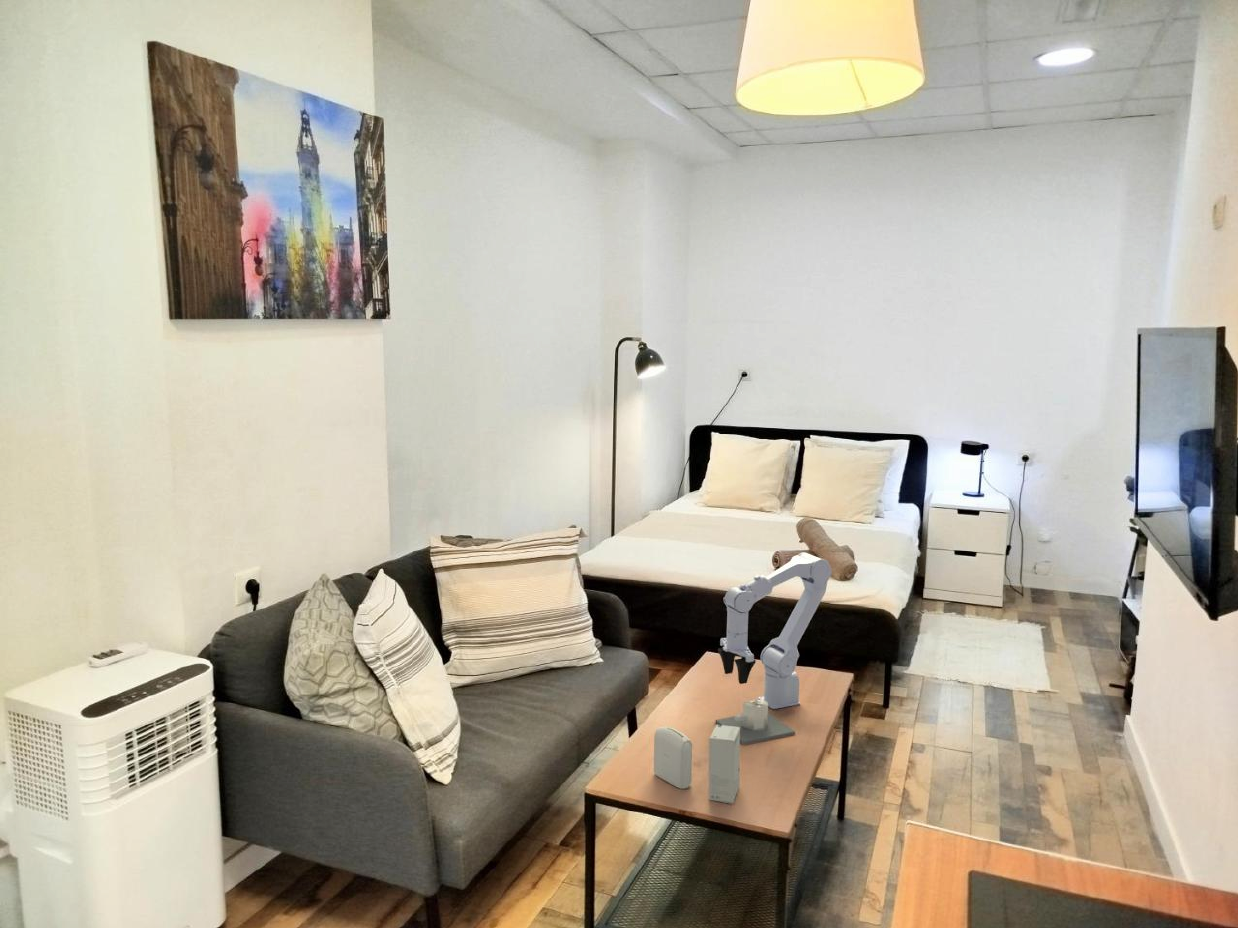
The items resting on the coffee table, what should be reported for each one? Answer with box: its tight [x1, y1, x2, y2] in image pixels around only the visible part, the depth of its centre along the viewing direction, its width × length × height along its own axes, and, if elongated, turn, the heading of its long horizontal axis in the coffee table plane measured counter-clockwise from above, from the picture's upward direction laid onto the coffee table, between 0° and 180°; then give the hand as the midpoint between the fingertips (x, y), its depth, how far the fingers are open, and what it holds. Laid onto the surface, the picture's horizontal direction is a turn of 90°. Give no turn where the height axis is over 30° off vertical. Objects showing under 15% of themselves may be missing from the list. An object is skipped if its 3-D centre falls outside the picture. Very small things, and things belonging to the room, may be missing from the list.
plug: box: [733, 699, 769, 729], centre depth 230 cm, size 9×4×6 cm, turn 113°
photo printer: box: [653, 725, 693, 790], centre depth 202 cm, size 10×4×12 cm, turn 39°
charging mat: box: [715, 711, 796, 745], centre depth 231 cm, size 16×14×1 cm
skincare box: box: [708, 724, 741, 805], centre depth 196 cm, size 8×6×15 cm
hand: (735, 678), depth 241 cm, fingers open, 7 cm apart
